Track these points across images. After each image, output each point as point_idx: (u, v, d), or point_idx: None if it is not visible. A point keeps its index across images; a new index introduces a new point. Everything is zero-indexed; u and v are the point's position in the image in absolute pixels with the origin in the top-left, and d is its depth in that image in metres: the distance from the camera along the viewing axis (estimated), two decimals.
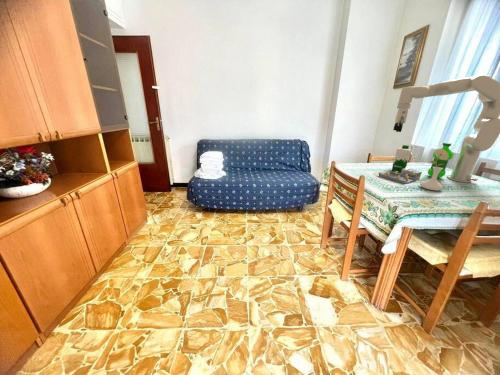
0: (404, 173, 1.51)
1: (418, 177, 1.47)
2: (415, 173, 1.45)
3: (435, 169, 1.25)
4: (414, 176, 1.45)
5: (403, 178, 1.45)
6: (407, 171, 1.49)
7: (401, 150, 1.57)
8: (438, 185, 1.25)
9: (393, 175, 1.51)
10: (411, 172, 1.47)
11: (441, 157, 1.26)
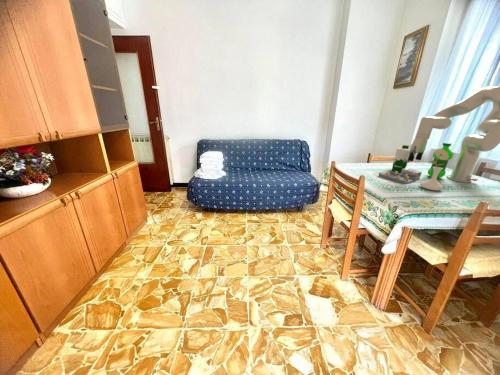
0: (404, 173, 1.51)
1: (418, 177, 1.47)
2: (415, 173, 1.45)
3: (435, 169, 1.25)
4: (414, 176, 1.45)
5: (403, 178, 1.45)
6: (407, 171, 1.49)
7: (401, 150, 1.57)
8: (438, 185, 1.25)
9: (393, 175, 1.51)
10: (411, 172, 1.47)
11: (441, 157, 1.26)
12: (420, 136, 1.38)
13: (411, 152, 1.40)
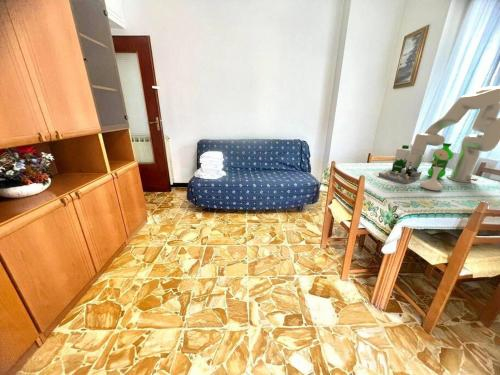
0: (404, 173, 1.51)
1: (418, 177, 1.47)
2: (415, 173, 1.44)
3: (435, 169, 1.25)
4: (414, 176, 1.45)
5: (403, 178, 1.45)
6: None
7: (401, 150, 1.57)
8: (438, 185, 1.25)
9: (393, 175, 1.51)
10: (411, 172, 1.47)
11: (441, 157, 1.26)
12: (415, 152, 1.42)
13: (407, 169, 1.45)
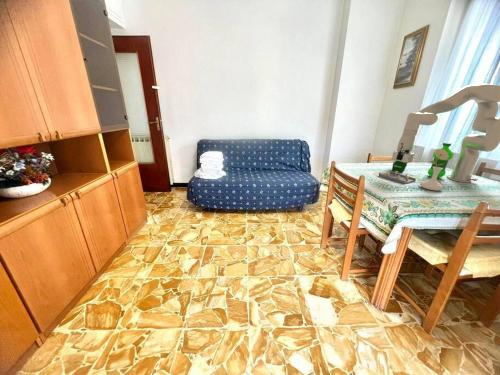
0: (396, 156, 1.42)
1: (410, 160, 1.38)
2: (407, 155, 1.36)
3: (435, 169, 1.25)
4: (406, 158, 1.37)
5: (403, 178, 1.45)
6: None
7: None
8: (438, 185, 1.25)
9: (393, 175, 1.51)
10: (403, 154, 1.38)
11: (441, 157, 1.26)
12: (407, 133, 1.33)
13: (399, 151, 1.37)
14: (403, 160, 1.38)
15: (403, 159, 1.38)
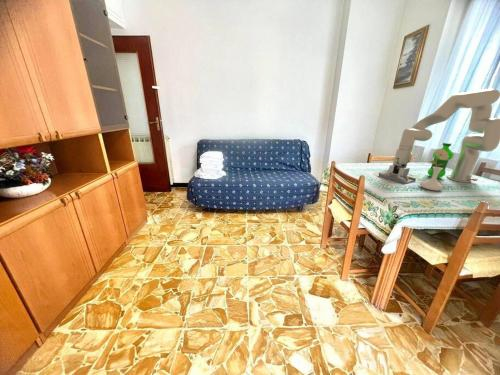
0: (392, 169, 1.46)
1: (406, 174, 1.42)
2: (403, 169, 1.39)
3: (435, 169, 1.25)
4: (402, 172, 1.40)
5: (403, 178, 1.45)
6: None
7: None
8: (438, 185, 1.25)
9: (393, 175, 1.51)
10: (399, 168, 1.42)
11: (441, 157, 1.26)
12: (403, 148, 1.37)
13: (395, 165, 1.40)
14: (399, 174, 1.42)
15: (399, 173, 1.42)
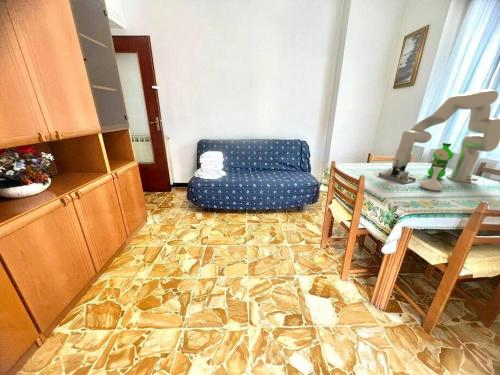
0: (391, 173, 1.47)
1: (405, 177, 1.43)
2: (402, 173, 1.40)
3: (435, 169, 1.25)
4: (401, 176, 1.41)
5: None
6: None
7: None
8: (438, 185, 1.25)
9: None
10: (398, 172, 1.43)
11: (441, 157, 1.26)
12: (402, 150, 1.37)
13: (394, 167, 1.40)
14: None
15: None
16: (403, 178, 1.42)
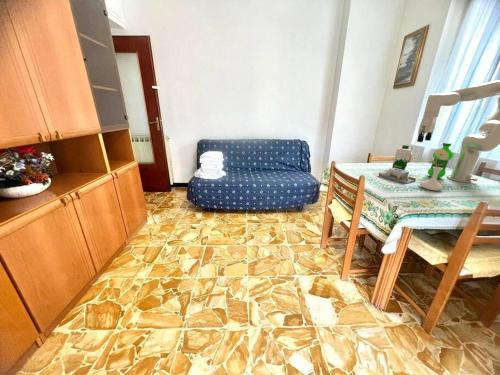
0: (391, 173, 1.47)
1: (405, 177, 1.43)
2: (402, 173, 1.40)
3: (435, 169, 1.25)
4: (401, 176, 1.41)
5: None
6: (394, 171, 1.45)
7: (401, 150, 1.57)
8: (438, 185, 1.25)
9: None
10: (398, 172, 1.43)
11: (441, 157, 1.26)
12: (428, 115, 1.32)
13: (420, 132, 1.34)
14: None
15: None
16: (403, 178, 1.42)
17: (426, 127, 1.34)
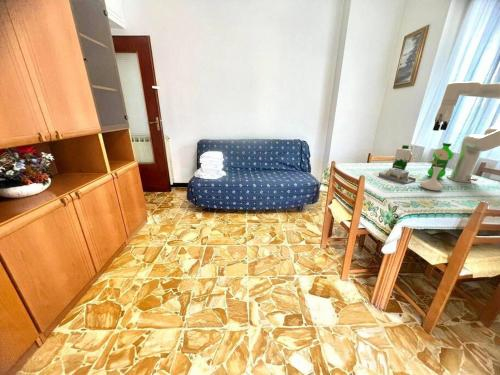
0: (391, 173, 1.47)
1: (405, 177, 1.43)
2: (402, 173, 1.40)
3: (435, 169, 1.25)
4: (401, 176, 1.41)
5: None
6: (394, 171, 1.45)
7: (401, 150, 1.57)
8: (438, 185, 1.25)
9: None
10: (398, 172, 1.43)
11: (441, 157, 1.26)
12: (446, 103, 1.32)
13: (437, 120, 1.35)
14: None
15: None
16: (403, 178, 1.42)
17: (443, 115, 1.34)
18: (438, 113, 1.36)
